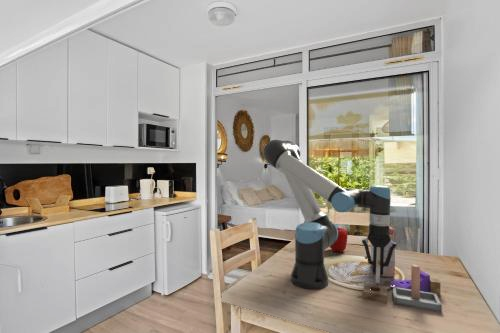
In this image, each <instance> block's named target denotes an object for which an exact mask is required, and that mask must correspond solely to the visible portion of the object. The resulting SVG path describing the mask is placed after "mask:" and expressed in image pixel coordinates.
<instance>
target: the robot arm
mask: <svg viewBox="0 0 500 333" xmlns="http://www.w3.org/2000/svg"><path fill="white" fill-rule="evenodd" d="M262 156H263V157H262V158H263V159H264V160H265V162H266V163H267V164H269V165H270V166H271V167H273V168H275V169H276V170H278V171H279V173H282V174H284V176H285V180H287V183H288V186H289V188H290V190H291V193H292V194H293V197H294V198H295V201H296V203H297V205H298V208H299V209H300V213H301V215H302V217H303V219H304V220H303V223H299V224H298V225H297V226H296V228H295V233H294V239H295V243H294V245H295V246H294V247H295V248H294V249H295V250H294V252H295V254H294V255H295V256H294V258H295V261H294V265H293V267H292V271H291V274H290V281H291V283H292V284H294V285H295V286H296V287H298V288H302V289H309V290H319V289H323V288H326V287H327V286H328V285H329V276H328V273H327V269H326V266H325V250H327V249H328V248H330V246H332V245H333V244H334V243H335V241H336V240H337V238H338V230H337V228H338V226H337V225H336V224H335V223H334V222H333V221H331V220H330V219H329V217H328V214H327V213H324V212H322V210H321V207H320V205H319V203H318V201H317V199H316V197H315V194H317V195H318V196H319V197H321V198H322V199H324V200H325V201H327V202H329V203H330V204H331V206H332V208H333V210H334V211H337V212H339V213H348V212H349V211H352V210H353V209H355V208H362V209H369V214H368V215H369V216H368V218H369V219H368V221H369V224H368V235H367V236H366V237H365V238H362V239H361V242H362V245H363V246H364V250H365V253H366V259H367V263H368V264H370V266H371V265H373V267H372V274H373V275H375V283H376V284H380V283H381V275H383V267H385V266H388V265H389V262H390V259H391V256H392V253H393V249H394V248H395V249H396V247H397V243H396V241H395V242H393V241H391V239H390V237H389V230H390V227H391V226H390V224H391V223H390V220H391V201H392V200H391V198H392V197H391V188H390V186H387V185H377V184H376V185H370V187H369V189H357V188H350V187H349V188H343V187H342V186H340V185H338V184H337V183H336V182H334V181H333V180H331V179H329V178H327V177H326V176H324V175H323V174H321V173H319V172H318V171H316V170H315V169H314V168H312V167H311V166H309V165H307V164H306V163H304V162H302V159H301V149H300V147H299V146H298V144H296V143H294V142H293V141H289V140H281V139H272V140H269V141H268V142H267V143H265V145H264V146H263V148H262ZM313 192H314V193H315V194H314V193H313ZM369 243H370V245H371V244H372V245H373V246H374V247H373V261H372V260H371V251H370V248H369ZM388 243H390V244H389V245H390V248H389V251H388V254H387V257H386V261H385V262H384V247H386V245H387V244H388ZM377 247H380V265H376V258H377Z"/></svg>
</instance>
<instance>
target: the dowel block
mask: <svg viewBox="0 0 500 333" xmlns="http://www.w3.org/2000/svg"><path fill="white" fill-rule="evenodd" d="M370 289H371V290H370ZM362 290H363V291H362V294H363V296H362V298H363V299H364V300H368V301H369V300H370V301H376V302H382V303H385V304H386V303H387V304H388V303H389V302H388V301H389V300H388V299H389V298H388V287H387V286H386V285H377V284H375V283H367V282H364V283H363V288H362Z"/></svg>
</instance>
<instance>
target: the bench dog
mask: <svg viewBox="0 0 500 333" xmlns="http://www.w3.org/2000/svg"><path fill="white" fill-rule="evenodd" d="M430 293H436V294H437V296H438V297H441V281H440V280H439V278H437V277H436V278H435V277H430Z"/></svg>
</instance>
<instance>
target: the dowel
mask: <svg viewBox="0 0 500 333" xmlns="http://www.w3.org/2000/svg"><path fill="white" fill-rule="evenodd" d="M410 269H411V272H410V273H411V276H410V278H411V279H410V280H411V299H415V300H420V270H421V267H420V265H416V264H411V268H410Z"/></svg>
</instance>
